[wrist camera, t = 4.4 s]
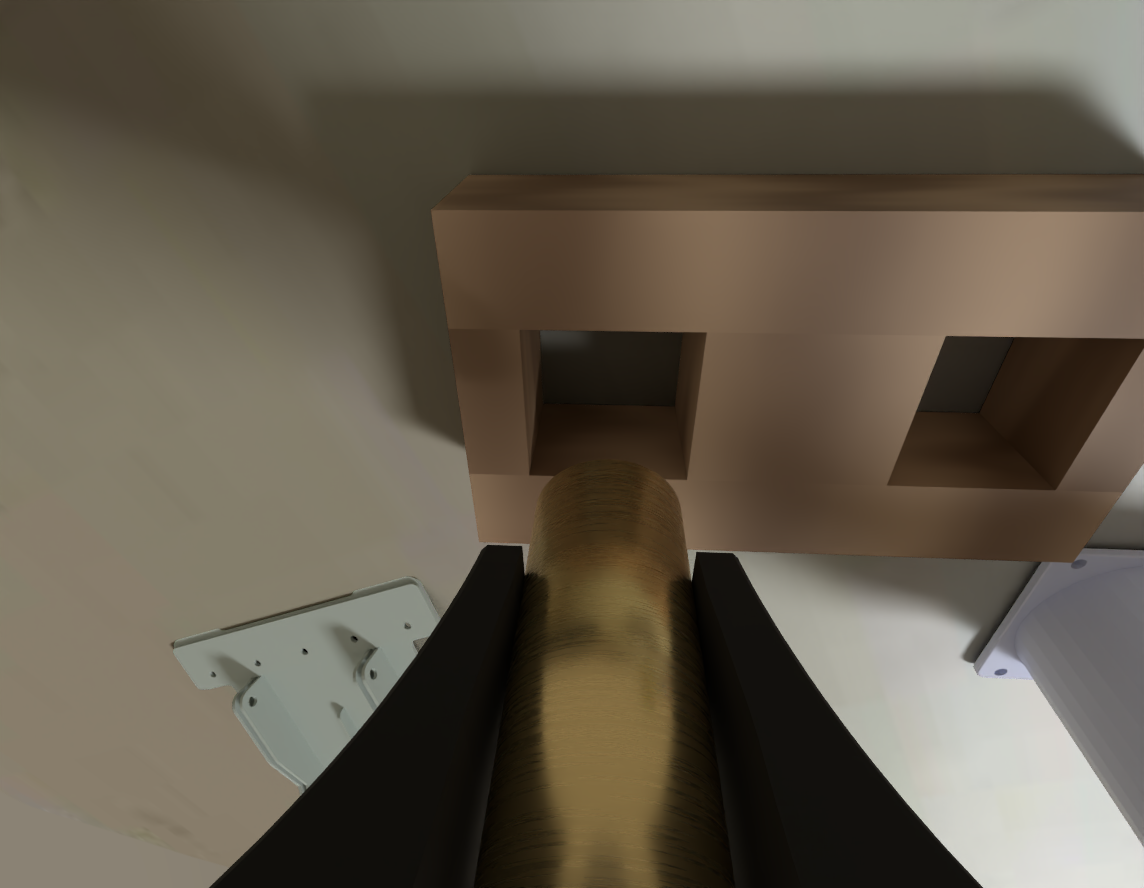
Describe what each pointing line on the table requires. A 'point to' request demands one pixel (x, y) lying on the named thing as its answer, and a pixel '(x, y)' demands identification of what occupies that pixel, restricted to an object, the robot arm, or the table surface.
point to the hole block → (812, 351)
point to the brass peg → (606, 701)
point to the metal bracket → (313, 670)
